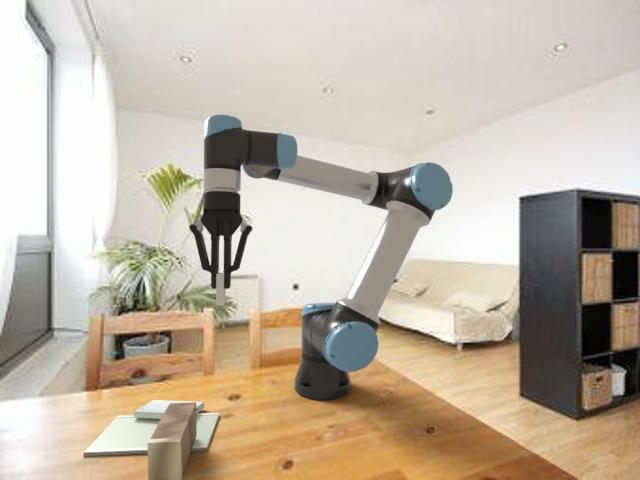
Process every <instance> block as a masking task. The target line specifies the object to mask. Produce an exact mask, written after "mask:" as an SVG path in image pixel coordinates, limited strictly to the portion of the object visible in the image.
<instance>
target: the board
mask: <svg viewBox="0 0 640 480" xmlns="http://www.w3.org/2000/svg"><path fill="white" fill-rule="evenodd" d="M219 418H220V412H204V413H203V412H199V413H197V414H196V429H197V436H196V439H195V442H194V444H193V447H192V450H191V452H194V453H195V452H207V450H208V448H209V445H210V442H211V440H212V436H213V434H214V431H215V429H216V426H217V423H218V420H219ZM160 420H161V419H150V418H134V414H133V415H117V416H115V418H114V419H113V420H112V422H111V423H110V424H109V425H108V426H107V427H106V428H105V429H104V430H103V431H102V432H101V433H100V434H99V435H98V436H97V438H96V439H95V440H93V442H92V443H91V444H90V445H89V446H88V447H87V448H86V449H85V450H84V451H83V457H89V456H90V457H92V456H93V457H95V456H97V457H98V456H115V455H116V456H117V455H118V456H120V455H144V454H146V455H148V445H147V443H148V441H149V439H150V438H151V436H152V435H153V433H154V431H155V429H156V427H157V426H158V424H159V422H160Z"/></svg>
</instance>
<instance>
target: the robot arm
mask: <svg viewBox="0 0 640 480" xmlns="http://www.w3.org/2000/svg"><path fill="white" fill-rule="evenodd" d="M203 133H204V137H203V189H204V191H205V192H204V193H203V199H202V200H203V202H202V203H203V204H202V207H203V208H202V209H203V210H202V211H203V212H202V214H201V216H200V220H199V221H197V222H196V223H194V224H190V225H189V227H188V228H189V230H190V231H191V233H192V234H193V236H194V240H195V243H196V244H195V245H196V248H197V253H198V257H199V261H200V266H201V269H202V270H203V271H206V272H209V273H210V279H211V280H210V287H211V289H212V290H213V289H214V290H215V306H224V305H225V304H226V290H228V289H230V288H231V284H232V278H231V277H232V273H234V272H235V271H238V270H239V269H240V267H241V263H242V260H243V257H244V252H245V248H246V244H247V241H248V237H249V235H250V234H251V232H252V231H253V229H254V228H253V226H252V225H249V224H247V223H246V222H245V221H244V220H243V216H242V215H241V194H240V193H239V192H240V191H241V189H242V187H241V185H242V184H241V183H242V181H241V179H242V177H241V174H242V170H243V172H244V173H245V175H247V176H248V177H249V178H252V179H256V180H257V179H263V178H264V179H268V180H272V181H278V182H282V183H286V184H291V185H295V186H300V187H304V188H309V189H312V190H318V191H321V192H325V193H328V194H333V195H334V194H335V195H337V196H338V195H339V196H343V197H347V198H352V199H356V200H360V201H361V203H362V204H363V205H366V206H370V207H373V208H377V209H381V210H386V211H387V212H388V213H387V215H386V217H385V219H384V220H383V223H382V224H381V227H380V229H379V231H378V233H377V234H376V237H375V239H374V241H373V242H372V245H371V246H370V248H369V250H368V253H367V255H366V257H365V259H364V260H363V263H362V264H361V266H360V269H359V270H358V273H357V274H356V276H355V278H354V281H353V282H352V284H351V286H350V288H349V290H348V292H347V294H346V296H344V298H340V299H337V300H336V302H313V303H307V304H304V305H303V307H302V309H301V310H302V311H301V359H300V363H299V365H298V369H297V371H296V375H295V378H294V391H295V392H296V393H297V394H298V395H300V396H302V397H304V398H308V399H312V400H321V401H322V400H323V401H324V400H334V399H335V400H336V399H339V398H342V397H345V396H346V395H348V394H349V393H350V392H351V387H352V386H351V377H350V374H349V373H351V372H352V373H353V372H357V371H361V370H363V369H366V368H367V367H368V366H369V365H370V364H371V363H372V362H373V360H374V359H375V357H376V356H377V353H378V350H379V340H378V339H379V338H378V335H377V332H378V330H379V327H380V326H381V321H380V318H379V312H380V310H381V309H382V306H383V305H384V302H385V300H386V298H387V296H388V294H389V292H390V290H391V288H392V286H393V284H394V282H395V280H396V278H397V276H398V273H400V270H401V268H402V266H403V264H404V262H405V260H406V257H407V255H408V253H409V252H410V250H411V247H412V245H413V243H414V241H415V239H416V237H417V235H418V233H419V231H420V228H423V227H426V226H428V225H429V224H430V223H431V221H432V218H433V217H434V214H435V213H436V211H439V210H442V209H443V208H445V207H446V206H447V205H448V204H449V203H450V201H451V199H452V196H453V188H454V187H453V183H452V181H451V176H450V174H449V173H448V172H447V170H446V169H445V168H444V167H443V166H441V165H440V164H438V163H435V162H421V163H417V164H415V165H413V166H410V167H408V168H407V167H406V168H403V169H399V170H397V171H389V172H379V171H377V170H370V171H368V172H364V171H360V170H357V169H353V168H349V167H345V166H340V165H336V164H333V163H329V162H326V161H321V160H317V159H314V158H309V157H305V156H301V155H298V142H297V139H296V138H295V136H293V135H290V134H284V133H281V132H279V133H277V132H270V131H269V132H268V131H267V132H266V131H256V130H249V129H244V128H243V125H242V121H241V120H240V119H239V118H238V117H236V116H231V115H228V114H213V115H210V116H208V118H206V120H205V122H204V132H203ZM241 167H242V168H241ZM241 169H242V170H241ZM239 227H240V230H239V231H240V233H241V235H240V238H239V241H238V245H237V249H236V253H235V257H234V261H233V264H232V238H233V235H234V234H235V233H236V232H237V230H238V229H239ZM204 228H205V229H206V231H207V232H208V233H209V235H210V240H211V241H210V242H211V243H210V245H211V246H210V248H211V249H210V260H209V255H208V251H207V246H206V242H205V238H204V234H203V232H204ZM221 236H223V272H219V271H220V239H221V238H220V237H221Z"/></svg>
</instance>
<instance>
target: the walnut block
mask: <svg viewBox="0 0 640 480" xmlns="http://www.w3.org/2000/svg"><path fill="white" fill-rule="evenodd" d="M189 402H190V403H170V404H169V406H168V407H167V409H166V411H165V413H164V415H163V416H162V418H161V420H160V422H159V424H158V426H157V427H156V429H155V431H154V433H153V435H152V436H151V438H150V439H149V441H148V443H147V445H148V454H147V469H148V470H147V478H148V479H147V480H182V478H183V474H184V473H185V472H184V471H185V469H186V466H187V463H188V461H189V458H190V455H191V450H192V447H193V444H194V442H195V439H196V436H197V429H196V402H197V401H189Z"/></svg>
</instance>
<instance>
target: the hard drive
mask: <svg viewBox="0 0 640 480" xmlns="http://www.w3.org/2000/svg"><path fill="white" fill-rule="evenodd" d="M190 402H191V401H187V400H186V401H184V400H163V399H153V400H151V401H149V402H147V403H146V404H144V405H142V406H141V407H139V408H137V409H136V410H134V412H133V415H134V418H150V419H161V418H162V416H163V415H164V413H165V411H166V409H167V407H168V406H169V404H170V403H190ZM195 402H196V414H197V413H201V411H203V410H204V409H205V402H204V401H195Z"/></svg>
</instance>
